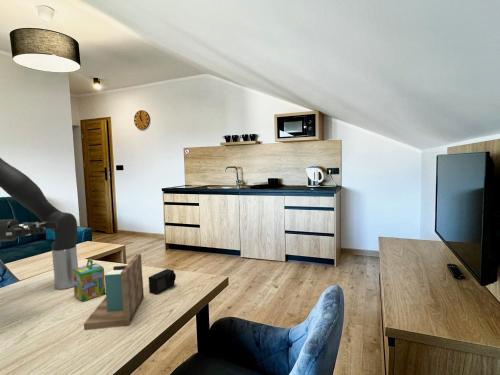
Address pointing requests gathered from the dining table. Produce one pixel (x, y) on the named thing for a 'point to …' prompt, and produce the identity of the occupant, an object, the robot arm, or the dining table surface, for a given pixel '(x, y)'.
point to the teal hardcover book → (114, 290)
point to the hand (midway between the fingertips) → (50, 227)
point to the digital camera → (161, 281)
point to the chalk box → (89, 281)
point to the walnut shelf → (130, 295)
